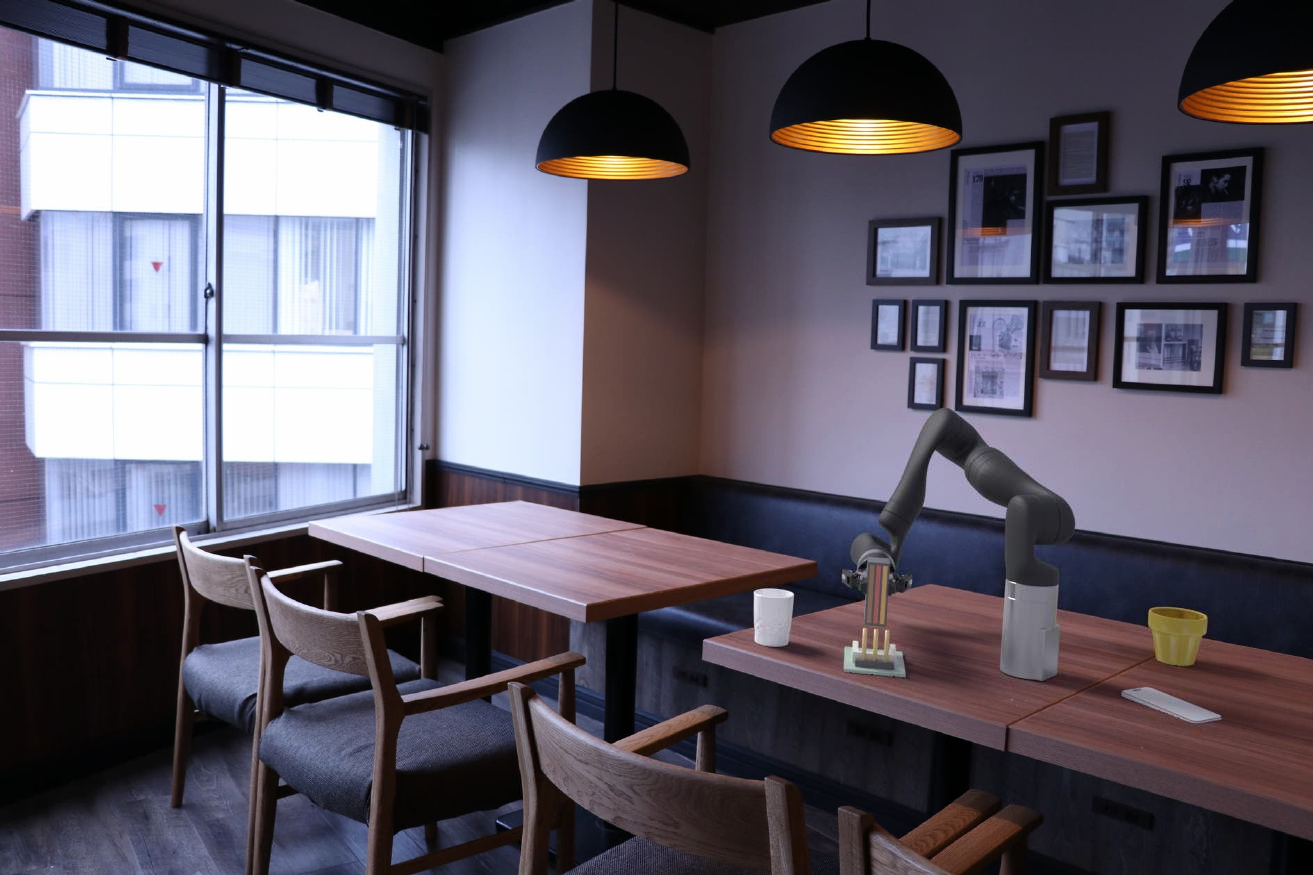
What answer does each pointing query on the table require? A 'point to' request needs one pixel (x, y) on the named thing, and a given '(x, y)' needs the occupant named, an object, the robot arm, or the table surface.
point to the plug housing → (877, 591)
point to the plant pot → (1176, 634)
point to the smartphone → (1170, 705)
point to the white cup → (772, 616)
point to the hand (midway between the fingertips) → (877, 589)
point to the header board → (874, 658)
